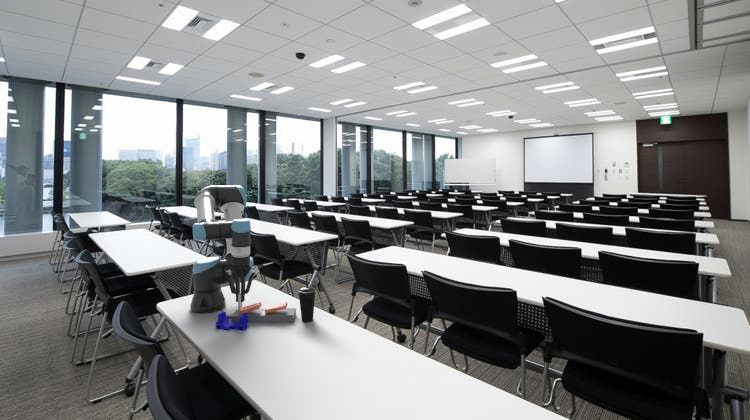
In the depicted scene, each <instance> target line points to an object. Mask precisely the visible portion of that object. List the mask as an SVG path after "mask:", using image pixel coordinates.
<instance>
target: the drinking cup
mask: <svg viewBox="0 0 750 420" xmlns="http://www.w3.org/2000/svg"><path fill="white" fill-rule="evenodd" d="M308 277H309V276H308V275H305V283H306V284H305V286H303V287H300V288H298V290H297V292H298V299H299V307H300V316H301V317H300V318H301V322H302V323H310V322H313V320H314V312H315V311H314V310H315V299H316V298H315V297H316V291H317V289H316V288H315V287H314V286H313V287H312V286H309V285H308V284H309V281H308V279H309V278H308Z"/></svg>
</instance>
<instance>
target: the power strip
mask: <svg viewBox="0 0 750 420" xmlns="http://www.w3.org/2000/svg"><path fill="white" fill-rule="evenodd" d="M265 309H266V308H260V309H257V310H253V311H250V312H247V313H243V314H240V315H239V313H238V311H239V310H238V308H237V309H236V310H235V311H234V312H233V313H232V315H226V316H227V318H228V319H229V320H230V321H231V322H233V323H239V321H240V317H241V316H242V315H244V314H248V324H277V323H278V324H279V323H280V324H284V323H294V322H295V320H296V316H297V308H296V307H289V308H288V307H286V309H283V310H278V311H274V312H269V313H265Z"/></svg>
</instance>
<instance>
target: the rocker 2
mask: <svg viewBox="0 0 750 420" xmlns="http://www.w3.org/2000/svg"><path fill="white" fill-rule="evenodd" d="M286 308H288V302H287V301H286V302H282V303H277V304H272V305H268V306H266V307H265V308H264V309H265V313H269V312H274V311H278V310H283V309H286Z"/></svg>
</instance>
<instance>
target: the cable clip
mask: <svg viewBox="0 0 750 420" xmlns="http://www.w3.org/2000/svg"><path fill="white" fill-rule="evenodd" d="M227 316H228V315H227V313H226V311H223V310H222V311H221V312H219V313H217V321H216V322H215V329H216V330H220V331H228V332H229V331H231V330H234V331H240V332H241V331H244V332H245V331H246V330H248V329H249V323H248V314H244V315H242V316H241V317H240V321H239V323H233V322H231V319H228V318H227Z"/></svg>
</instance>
